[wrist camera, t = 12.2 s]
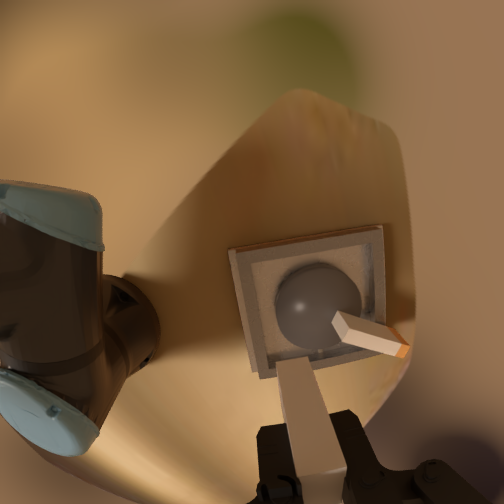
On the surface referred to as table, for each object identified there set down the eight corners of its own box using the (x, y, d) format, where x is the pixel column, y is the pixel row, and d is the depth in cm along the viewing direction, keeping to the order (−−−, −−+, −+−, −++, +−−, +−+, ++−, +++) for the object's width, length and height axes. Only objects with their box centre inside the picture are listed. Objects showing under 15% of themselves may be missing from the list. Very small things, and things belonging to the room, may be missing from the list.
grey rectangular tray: (252, 368, 42) (252, 380, 39) (228, 249, 38) (226, 254, 35) (382, 341, 42) (389, 351, 39) (379, 224, 38) (389, 227, 35)
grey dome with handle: (261, 327, 40) (265, 357, 32) (294, 251, 37) (306, 268, 30) (367, 358, 41) (385, 386, 34) (402, 293, 39) (428, 314, 32)
